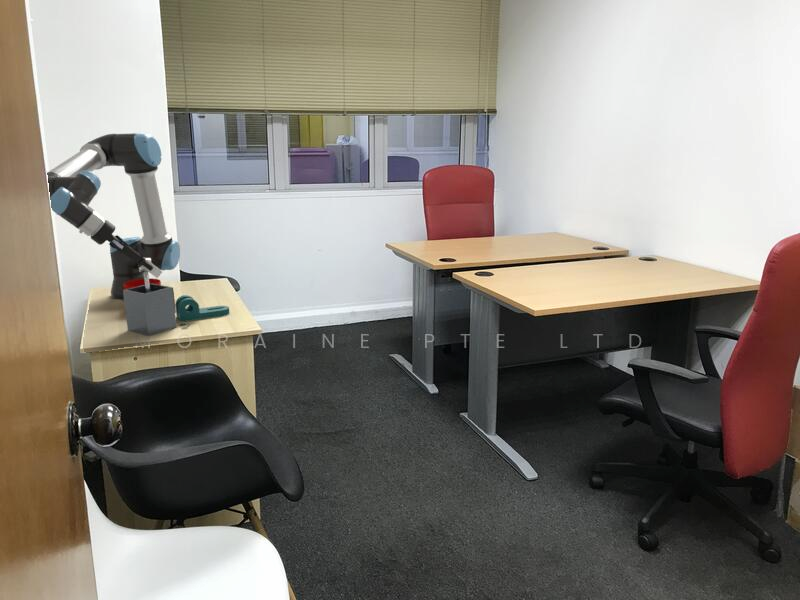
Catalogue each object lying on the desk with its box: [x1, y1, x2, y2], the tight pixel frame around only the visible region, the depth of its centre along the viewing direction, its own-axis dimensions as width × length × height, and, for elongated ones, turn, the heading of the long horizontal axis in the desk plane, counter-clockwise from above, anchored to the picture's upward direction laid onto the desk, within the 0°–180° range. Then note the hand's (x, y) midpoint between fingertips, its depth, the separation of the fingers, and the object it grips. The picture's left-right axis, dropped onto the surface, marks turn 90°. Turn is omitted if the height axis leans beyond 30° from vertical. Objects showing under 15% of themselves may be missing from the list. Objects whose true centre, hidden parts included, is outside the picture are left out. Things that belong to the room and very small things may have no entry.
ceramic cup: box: [124, 278, 162, 290], centre depth 236 cm, size 13×17×10 cm
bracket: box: [175, 294, 230, 322], centre depth 227 cm, size 18×7×8 cm, turn 120°
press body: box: [123, 283, 177, 337], centre depth 212 cm, size 15×11×14 cm
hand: (158, 273), depth 210 cm, fingers closed on plunger, 4 cm apart
